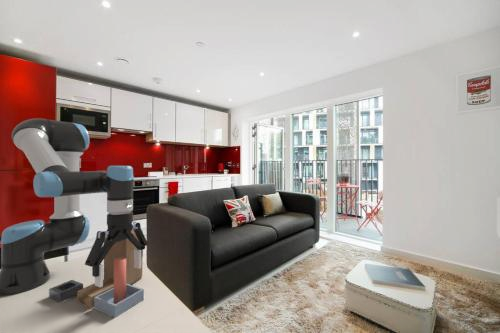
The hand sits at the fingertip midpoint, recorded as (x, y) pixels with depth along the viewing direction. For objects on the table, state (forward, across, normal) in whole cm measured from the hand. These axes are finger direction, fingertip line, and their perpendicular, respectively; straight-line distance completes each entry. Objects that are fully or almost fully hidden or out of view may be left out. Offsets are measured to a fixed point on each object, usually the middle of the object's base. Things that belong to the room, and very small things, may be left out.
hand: (119, 276), depth 75 cm
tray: (+9, 0, 0) cm, 9 cm away
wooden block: (+10, +10, +12) cm, 18 cm away
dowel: (+9, 0, 0) cm, 9 cm away
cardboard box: (+10, 0, +10) cm, 14 cm away
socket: (+9, -4, +22) cm, 24 cm away
